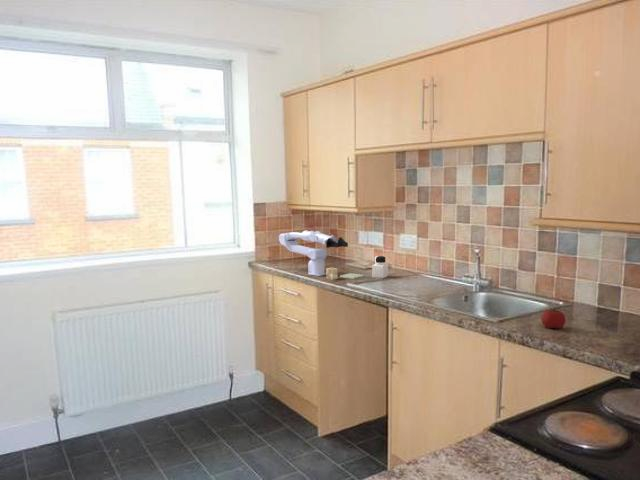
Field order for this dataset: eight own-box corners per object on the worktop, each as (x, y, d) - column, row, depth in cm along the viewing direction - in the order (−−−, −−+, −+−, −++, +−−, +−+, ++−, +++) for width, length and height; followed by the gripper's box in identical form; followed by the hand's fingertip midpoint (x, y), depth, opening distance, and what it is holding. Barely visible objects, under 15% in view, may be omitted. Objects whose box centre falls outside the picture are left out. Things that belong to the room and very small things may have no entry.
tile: (339, 276, 291) (339, 275, 291) (350, 274, 299) (350, 273, 299) (353, 278, 285) (353, 277, 285) (363, 276, 292) (363, 275, 292)
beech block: (326, 279, 286) (326, 268, 285) (331, 277, 289) (331, 267, 289) (332, 279, 283) (332, 269, 282) (337, 278, 286) (337, 268, 286)
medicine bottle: (388, 276, 292) (388, 255, 290) (383, 278, 286) (383, 257, 284) (377, 275, 295) (377, 255, 294) (371, 277, 289) (371, 256, 288)
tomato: (548, 323, 191) (549, 305, 190) (569, 328, 185) (569, 309, 184) (536, 327, 186) (537, 308, 185) (557, 332, 180) (558, 312, 179)
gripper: (318, 233, 287) (335, 238, 278) (335, 232, 297) (352, 237, 288) (316, 245, 288) (333, 251, 279) (333, 244, 299) (350, 249, 290)
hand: (342, 245), depth 284 cm, fingers open, 7 cm apart
